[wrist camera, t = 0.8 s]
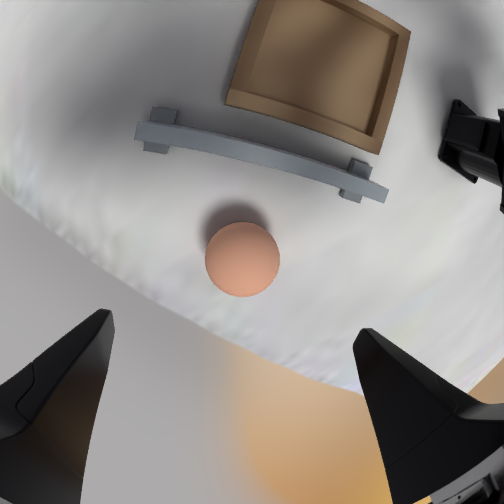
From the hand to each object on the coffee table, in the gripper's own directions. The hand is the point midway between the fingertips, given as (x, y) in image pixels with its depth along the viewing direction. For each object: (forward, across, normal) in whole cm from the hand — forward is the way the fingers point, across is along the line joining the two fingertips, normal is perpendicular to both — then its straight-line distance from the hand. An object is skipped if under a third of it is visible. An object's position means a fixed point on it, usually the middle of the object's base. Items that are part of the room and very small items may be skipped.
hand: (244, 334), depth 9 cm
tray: (+12, -4, -12) cm, 18 cm away
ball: (+12, -1, +2) cm, 12 cm away
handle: (+12, -2, -5) cm, 13 cm away
